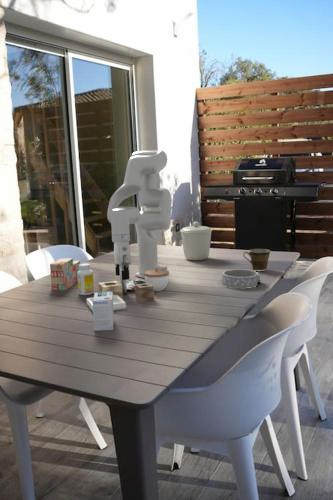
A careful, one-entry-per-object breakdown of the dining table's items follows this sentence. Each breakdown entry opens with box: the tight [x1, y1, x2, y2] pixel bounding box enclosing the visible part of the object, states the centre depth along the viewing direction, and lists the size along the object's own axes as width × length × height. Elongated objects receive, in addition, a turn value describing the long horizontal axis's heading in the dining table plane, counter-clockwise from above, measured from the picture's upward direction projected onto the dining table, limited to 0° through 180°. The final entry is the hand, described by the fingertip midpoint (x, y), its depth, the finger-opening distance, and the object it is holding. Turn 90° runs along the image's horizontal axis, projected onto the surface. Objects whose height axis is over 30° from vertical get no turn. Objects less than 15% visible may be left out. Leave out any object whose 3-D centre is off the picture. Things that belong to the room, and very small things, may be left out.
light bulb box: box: [92, 291, 115, 332], centre depth 176 cm, size 11×7×11 cm, turn 5°
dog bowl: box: [219, 268, 262, 289], centre depth 228 cm, size 17×18×5 cm
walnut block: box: [134, 282, 155, 303], centre depth 207 cm, size 6×6×6 cm
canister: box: [179, 221, 213, 261], centre depth 284 cm, size 18×18×21 cm
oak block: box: [97, 280, 124, 300], centre depth 212 cm, size 8×8×6 cm
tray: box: [85, 295, 127, 313], centre depth 199 cm, size 13×13×2 cm
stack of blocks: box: [49, 257, 81, 291], centre depth 236 cm, size 21×6×12 cm, turn 169°
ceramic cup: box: [243, 248, 271, 270], centre depth 252 cm, size 13×10×10 cm
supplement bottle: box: [77, 263, 95, 296], centre depth 218 cm, size 7×7×13 cm
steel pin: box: [119, 265, 128, 294], centre depth 218 cm, size 3×3×12 cm
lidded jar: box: [144, 268, 170, 292], centre depth 223 cm, size 11×11×9 cm
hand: (122, 277), depth 217 cm, fingers open, 9 cm apart
